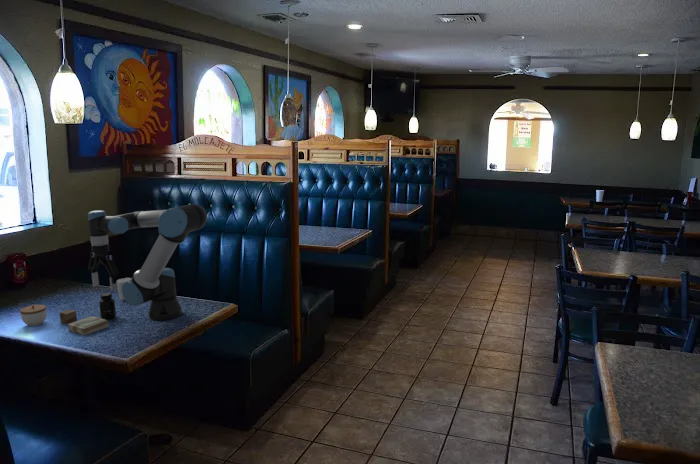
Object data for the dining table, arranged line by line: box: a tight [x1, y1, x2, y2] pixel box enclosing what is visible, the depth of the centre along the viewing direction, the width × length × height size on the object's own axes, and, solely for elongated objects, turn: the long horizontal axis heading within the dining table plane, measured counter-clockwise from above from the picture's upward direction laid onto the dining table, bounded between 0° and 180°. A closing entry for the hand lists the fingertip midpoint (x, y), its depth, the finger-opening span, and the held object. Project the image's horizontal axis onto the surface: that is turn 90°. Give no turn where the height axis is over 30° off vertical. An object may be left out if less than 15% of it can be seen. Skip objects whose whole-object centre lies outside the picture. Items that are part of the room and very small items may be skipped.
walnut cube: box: [59, 308, 78, 325], centre depth 263 cm, size 5×5×5 cm
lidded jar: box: [19, 304, 48, 327], centre depth 260 cm, size 11×11×9 cm
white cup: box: [116, 277, 132, 301], centre depth 295 cm, size 8×8×10 cm
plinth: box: [67, 315, 110, 336], centre depth 253 cm, size 12×12×3 cm
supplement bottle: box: [98, 292, 117, 321], centre depth 265 cm, size 7×7×12 cm
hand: (104, 288), depth 264 cm, fingers open, 13 cm apart
